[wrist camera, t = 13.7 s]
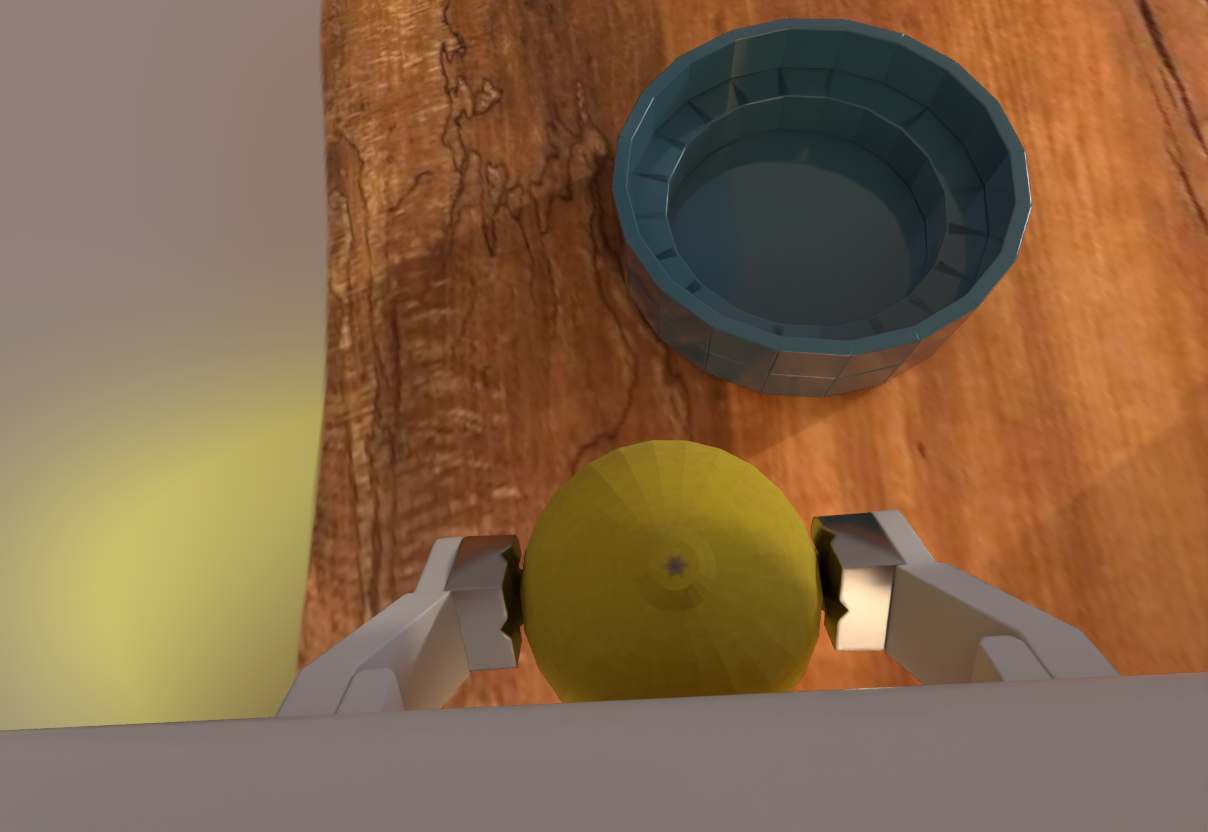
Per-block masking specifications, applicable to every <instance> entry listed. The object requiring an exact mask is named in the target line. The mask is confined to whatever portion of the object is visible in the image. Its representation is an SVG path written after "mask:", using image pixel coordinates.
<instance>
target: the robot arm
mask: <svg viewBox="0 0 1208 832" xmlns="http://www.w3.org/2000/svg"><path fill="white" fill-rule="evenodd" d="M811 538H812V540H813V542H814V545H815V547H816V549H815V552H816V554H817V558H818V565H819V572H820V579H821V586H822V593H823V600H822V610H823V611H825V619H824V625H825V627H826V630H827V632H828V635H829V637H830V639H831V642H832V644H833V647H834V649H835V651H874V650H885V653H886V654H888V655H889V656H890V657H891V658H892V659H894V660H895V661H896V662H897V663H899V664H900V665H901V666H902V667H903V668H905V669H906V670H907V671H908V672H909V673H911V674H912V675H913V676H914V677H915V678H917V679H918V680H919V681H920V682H922V683H923V684H924V685H922V686H902V687H882V688H861V689H841V690H821V691H800V692H780V693H760V694H740V695H719V696H699V697H678V698H657V699H637V700H616V701H596V702H575V703H555V704H534V705H514V706H493V707H473V708H452V709H441V707H442V706H443V705H444V704H445V703H446V702H447V701H448V699H449V698H450V697H451V696H452V695H453V694H454V692H455V691H456V690H457V689H458V688H459V687H460V686H461V684H462V683H463V682H464V681H465V680H466V679H467V677H468V676H469V675H470V672H472V671H484V670H497V669H509V668H517V665H518V659H519V653H520V648H521V642H522V638H521V632H520V627H521V626H522V625H523V624H524V622H523V614H522V605H521V597H520V587H521V579H522V571H523V570H521V569H520V568H519V562H520V557H521V549H520V544H519V539H518V537H517V536H516V535H491V536H467V537H449V538H439V539H437V540H436V541H435V542H434V544H433V546H432V549H431V551H430V554H429V556H428V559H427V561H426V563H425V566H424V568H423V571H422V573H421V576H420V578H419V580H418V583H417V585H416V588H415V590H414V593H407V594H404V595H403V596H402V597H400V598H399V599H398V600H396V601H395V602H393V603H392V604H391V605H389V606H388V607H387V608H385V609H384V610H383V611H381V612H380V613H378V614H377V615H376V616H374V617H373V618H372V619H370V620H369V621H367V622H366V623H365V624H363V625H362V626H361V627H359V628H358V629H356V630H355V631H354V632H352V633H351V634H350V635H348V636H347V637H345V638H344V639H343V640H341V641H340V642H339V643H337V644H336V645H334V646H333V647H332V648H330V649H329V650H328V651H326V652H325V653H323V654H322V655H321V656H319V657H318V658H317V659H315V660H314V661H312V662H311V663H310V664H308V665H307V666H306V667H304V668H303V669H301V670H300V672H299V674H298V676H297V677H296V679H295V681H294V683H293V685H292V686H291V688H290V690H289V692H288V694H287V696H286V697H285V699H284V701H283V703H282V705H281V706H280V708H279V710H278V712H277V713H276V715H275V717H268V718H248V719H228V720H208V721H187V722H167V723H146V724H127V725H105V726H87V727H65V728H45V729H25V730H4V731H0V832H1208V672H1189V673H1169V674H1149V675H1128V676H1121V675H1120V674H1119V673H1118V672H1117V671H1116V669H1115V668H1114V667H1113V666H1112V665H1111V664H1110V663H1109V661H1108V660H1107V659H1106V658H1105V657H1104V656H1103V655H1102V654H1101V652H1100V651H1099V650H1098V649H1097V648H1096V647H1095V646H1094V644H1093V643H1092V642H1091V641H1090V640H1089V639H1088V638H1087V636H1086V635H1085V634H1084V633H1083V632H1082V631H1081V630H1080V629H1078V628H1076V627H1074V626H1072V625H1070V624H1068V623H1066V622H1064V621H1062V620H1060V619H1058V618H1056V617H1054V616H1052V615H1050V614H1048V613H1046V612H1044V611H1042V610H1040V609H1038V608H1036V607H1034V606H1032V605H1030V604H1028V603H1026V602H1024V601H1022V600H1020V599H1018V598H1016V597H1014V596H1012V595H1010V594H1008V593H1006V592H1004V591H1002V590H1000V589H997V588H995V587H993V586H991V585H989V584H987V583H985V582H983V581H981V580H979V579H977V578H975V577H973V576H971V575H969V574H967V573H965V572H963V571H961V570H959V569H957V568H955V567H953V566H951V565H949V564H947V563H937V562H936V561H935V559H934V558H933V557H932V555H931V554H930V552H929V551H928V550H927V548H926V547H925V545H924V544H923V543H922V541H921V540H920V538H919V537H918V536H917V534H916V533H915V531H914V530H913V529H912V527H911V526H910V524H909V523H908V522H907V520H906V519H905V517H904V516H903V515H902V513H901V512H900V511H898V510H886V511H875V512H868V513H858V514H845V515H832V516H819V517H813V520H812V524H811Z"/></svg>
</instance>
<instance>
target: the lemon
mask: <svg viewBox="0 0 1208 832" xmlns="http://www.w3.org/2000/svg"><path fill="white" fill-rule="evenodd" d="M520 597H521V605H522V614H523V622H524V631H525V634H526V637H527V639H528V642H529V644H530V647H531V650H532V652H533V655H534V657H535V660H536V663H537V665H538V668H539V670H540V671H541V673H542V674H543V675H544V677H545V678H546V680H547V681H548V683H549V684H550V685H551V687H552V688H553V690H554V691H555V693H556V694H557V696H558V697H559V698H560V700H561V701H562V702H563V703H575V702H596V701H616V700H637V699H657V698H678V697H699V696H719V695H740V694H760V693H780V692H792V691H793V689H794V688H795V687H796V685H797V684H798V683H799V681H800V680H801V678H802V677H803V676H804V674H805V671H806V669H807V666H808V664H809V661H810V658H811V656H812V653H813V650H814V648H815V645H816V642H817V640H818V637H819V628H820V619H821V610H822V600H823V593H822V586H821V579H820V572H819V565H818V558H817V554H816V552H815V549H814V547H813V544H812V542H811V540H810V537H809V535H808V532H807V530H806V527H805V525H804V523H803V520H802V519H801V517H800V516H799V515H798V513H797V512H796V511H795V509H794V508H793V506H792V505H791V504H790V502H789V501H788V499H787V498H786V497H785V495H784V494H783V492H782V491H781V490H780V489H779V488H778V487H777V486H776V485H774V484H773V483H772V482H771V481H770V480H769V479H768V478H766V477H765V476H764V475H763V474H762V473H761V472H760V471H758V470H757V469H756V468H755V467H754V466H753V465H751V464H749V463H747V462H745V461H743V460H741V459H739V458H737V457H735V456H733V455H731V454H730V453H728V452H726V451H724V450H722V449H719V448H715V447H711V446H707V445H703V444H699V443H695V442H691V441H687V440H650V441H646V442H642V443H638V444H633V445H629V446H625V447H621V448H617V449H615V450H613V451H611V452H609V453H607V454H605V455H604V456H602V457H600V458H598V459H596V460H594V461H592V462H590V463H588V464H586V465H585V466H584V467H583V468H582V469H580V470H579V471H578V472H577V473H576V474H575V475H574V476H572V477H571V478H570V479H569V480H568V481H567V482H565V483H564V484H563V485H562V486H561V487H560V488H559V489H558V491H557V492H556V493H555V495H554V496H553V498H552V499H551V501H550V502H549V504H548V505H547V506H546V508H545V509H544V511H543V512H542V514H541V515H540V516H539V518H538V520H537V523H536V525H535V528H534V531H533V533H532V536H531V538H530V541H529V544H528V546H527V549H526V552H525V556H524V563H523V571H522V579H521V587H520Z"/></svg>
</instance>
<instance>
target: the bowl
mask: <svg viewBox="0 0 1208 832" xmlns="http://www.w3.org/2000/svg"><path fill="white" fill-rule="evenodd" d="M1024 151H1025V150H1024V148H1023V146H1022V144H1021V142H1020V140H1019V138H1018V137H1017V135H1016V133H1015V131H1014V129H1013V127H1012V125H1011V124H1010V122H1009V120H1008V118H1007V116H1006V114H1005V112H1004V110H1003V109H1002V107H1001V105H1000V103H998V101H997V100H996V99H995V98H994V97H993V96H992V95H991V94H990V93H989V92H988V91H987V90H986V89H985V88H984V87H983V86H982V85H981V84H980V83H979V82H977V81H976V80H975V79H974V78H973V77H972V76H971V75H970V74H969V73H968V72H967V71H966V70H965V69H964V68H963V67H962V66H961V65H960V64H959V63H956V61H954V60H952V59H950V58H949V57H947V56H945V55H943V54H941V53H939V52H937V51H935V50H934V49H932V48H930V47H928V46H926V45H924V44H922V43H920V42H919V41H917V40H915V39H913V38H911V37H909V36H907V35H904V34H902V33H898V32H894V31H890V30H886V29H882V28H879V27H875V26H871V25H867V24H863V23H859V22H855V21H851V20H845V19H798V18H788V19H780V20H776V21H771V22H767V23H762V24H757V25H753V26H748V27H744V28H739V29H735V30H731V31H730V32H729V31H728V32H726V33H724V34H722V35H720V36H718V37H716V38H714V39H713V40H711V41H709V42H707V43H705V44H703V45H701V46H699V47H697V48H695V49H693V50H691V51H689V52H687V53H685V54H683V55H681V56H679V57H678V58H677V59H676V60H675V61H674V62H673V63H672V64H671V65H670V66H669V67H668V68H666V69H665V70H664V71H663V72H662V73H661V74H660V75H659V76H658V77H657V78H656V79H655V80H654V81H653V82H652V83H651V84H649V85H648V86H647V87H646V88H645V89H644V90H643V91H642V93H641V94H640V96H639V98H638V100H637V102H636V104H635V106H634V108H633V110H632V111H631V113H630V115H629V117H628V119H627V121H626V123H625V125H624V126H623V128H622V130H621V132H620V134H619V136H618V139H617V146H616V154H615V162H614V170H613V178H612V186H611V188H612V200H613V211H614V221H615V233H616V244H617V250H618V254H619V258H620V262H621V266H622V270H623V274H624V278H625V282H626V286H627V289H628V292H629V294H630V296H631V298H632V299H633V301H634V302H635V303H636V305H637V306H638V308H639V309H640V311H641V312H642V314H643V315H644V317H645V318H646V320H647V321H648V323H649V324H650V325H651V327H652V328H653V330H654V331H655V333H656V334H657V335H658V336H659V338H660V339H661V340H663V341H664V342H665V343H666V344H668V345H669V346H670V347H672V348H673V349H674V350H676V351H677V352H678V353H680V354H681V355H682V356H683V357H685V358H686V359H687V360H689V361H690V362H691V363H693V364H694V365H695V366H697V367H698V368H699V369H700V370H702V371H703V372H704V371H705V372H706V373H709V374H711V375H714V376H717V377H719V378H722V379H725V380H727V381H730V382H733V383H735V384H738V385H741V386H743V387H746V388H749V389H751V390H754V391H757V392H761V393H763V394H777V395H791V396H805V397H819V398H822V397H829V396H833V395H838V394H842V393H847V392H851V391H856V390H860V389H865V388H869V387H874V386H878V385H882V384H884V383H886V382H888V381H890V380H892V379H893V378H895V377H897V376H898V375H900V374H902V373H903V372H905V371H907V370H908V369H910V368H912V367H913V366H915V365H917V364H919V363H920V362H922V361H924V360H925V359H927V358H929V357H930V356H932V355H933V354H934V353H935V352H936V351H937V350H938V349H939V348H940V347H941V346H942V345H943V344H944V343H945V342H946V341H947V339H948V338H949V337H950V336H951V335H952V334H953V333H954V332H955V331H956V330H957V329H958V328H959V327H960V326H961V325H962V324H963V323H964V322H965V321H966V320H967V318H968V317H969V316H970V315H971V314H972V313H973V312H974V311H975V310H976V309H977V308H978V307H979V306H980V304H981V303H982V302H983V301H984V300H985V298H986V297H987V296H988V295H989V293H990V292H991V291H992V290H993V288H994V287H995V286H996V285H997V284H998V282H999V281H1000V280H1001V279H1002V277H1003V276H1004V275H1005V274H1006V272H1007V271H1008V270H1009V269H1010V268H1011V266H1012V265H1013V264H1014V263H1015V260H1016V259H1017V256H1018V252H1019V249H1020V245H1021V242H1022V239H1023V235H1024V232H1025V228H1026V225H1027V222H1028V218H1029V215H1030V211H1031V205H1032V202H1031V193H1030V185H1029V177H1028V169H1027V161H1026V153H1025V152H1024Z"/></svg>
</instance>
